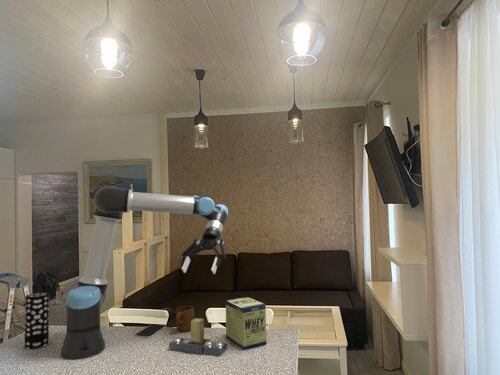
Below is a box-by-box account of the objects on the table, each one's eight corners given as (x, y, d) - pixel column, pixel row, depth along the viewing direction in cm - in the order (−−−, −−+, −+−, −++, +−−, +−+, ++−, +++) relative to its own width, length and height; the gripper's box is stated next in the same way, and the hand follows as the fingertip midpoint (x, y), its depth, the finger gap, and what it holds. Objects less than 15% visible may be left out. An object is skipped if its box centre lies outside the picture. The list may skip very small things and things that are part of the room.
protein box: (244, 350, 129) (243, 308, 130) (225, 338, 143) (224, 299, 144) (267, 344, 135) (266, 304, 136) (247, 333, 148) (246, 296, 149)
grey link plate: (168, 350, 131) (168, 341, 131) (178, 343, 138) (178, 335, 138) (219, 356, 124) (219, 347, 125) (227, 349, 131) (227, 340, 131)
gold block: (191, 351, 130) (190, 321, 131) (195, 347, 134) (195, 318, 134) (199, 352, 129) (199, 321, 130) (204, 348, 132) (203, 319, 133)
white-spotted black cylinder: (19, 348, 137) (20, 297, 139) (36, 340, 145) (37, 292, 147) (36, 349, 135) (37, 297, 137) (53, 342, 143) (54, 292, 145)
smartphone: (133, 335, 147) (151, 323, 162) (133, 338, 147) (151, 326, 162) (150, 336, 145) (167, 324, 160) (150, 339, 145) (167, 327, 160)
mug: (185, 336, 146) (185, 313, 146) (169, 335, 148) (168, 313, 148) (196, 327, 157) (196, 306, 158) (181, 326, 159) (180, 305, 160)
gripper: (240, 237, 156) (228, 277, 141) (191, 237, 164) (174, 275, 149) (236, 226, 152) (223, 266, 136) (185, 227, 160) (168, 265, 144)
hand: (197, 271), depth 143 cm, fingers open, 13 cm apart
